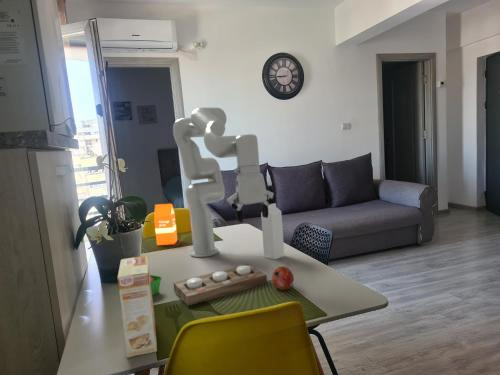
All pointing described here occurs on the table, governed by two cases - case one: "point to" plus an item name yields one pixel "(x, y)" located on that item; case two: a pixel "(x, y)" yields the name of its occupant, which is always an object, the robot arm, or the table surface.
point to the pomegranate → (282, 278)
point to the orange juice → (165, 224)
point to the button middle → (219, 276)
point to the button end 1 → (194, 283)
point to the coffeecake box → (137, 306)
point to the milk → (273, 233)
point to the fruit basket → (155, 283)
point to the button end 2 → (243, 270)
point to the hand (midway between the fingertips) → (252, 219)
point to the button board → (219, 285)
